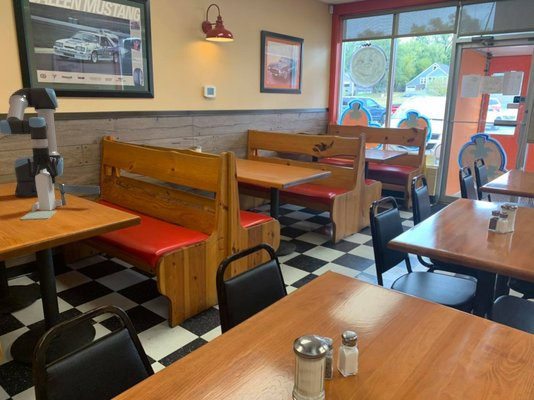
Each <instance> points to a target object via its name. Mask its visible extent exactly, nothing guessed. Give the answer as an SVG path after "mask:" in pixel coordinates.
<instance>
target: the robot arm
mask: <svg viewBox="0 0 534 400" xmlns="http://www.w3.org/2000/svg"><path fill="white" fill-rule="evenodd" d="M8 105H9V108H8V112H7V115H6V119H3V120H2V119H1V120H0V132H1V135H5V136H6V135H7V136H8V135H10V136H12V135H13V136H14V135H30V140H31V146H32V150H31V151H32V155H29V156H24V157H19V158H16V159H15V160H14V172H15V173H14V174H15V178H16V179H15V180H16V185H15V189H14V196H15V197H17V198H31V197H38V194H37V186H36V179H35V176H36V175H38V174H40V170H43V169H46V171H47V172H49V174H50V176H51V178H50V184H51V190H53V189H54V190H55V184H56V178H57V177H61V176H62V175H63V173H64V172H63V171H64V158H63V156H61V154H60V153H59V152H58V146H57V136H56V135H57V134H56V127H55V116H54V114H55V112H56V111H57V109H58V108H59V104H58V100H57V96H56V93H55V90H54V89H53V88H50V87H49V88H47V87H23V88H20V89H18V90H16V91H14V92H13V93H11V95H10V96H9V99H8ZM27 108H28V109H29V108H33V109H34V112H35V113H37V116H33V117H29V118H28V119H24V116H25V110H26V109H27Z"/></svg>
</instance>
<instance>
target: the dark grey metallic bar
mask: <svg viewBox="0 0 534 400" xmlns="http://www.w3.org/2000/svg"><path fill="white" fill-rule="evenodd" d="M58 186H59V193H60V194H61V193H65V194H66V193H70V194H71V193H72V194H91V195H93V194H95V195H96V194H97V195H100V194H101V186H100V185H79V184H78V185H75V184H65V183H59V185H58Z"/></svg>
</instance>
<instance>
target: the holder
mask: <svg viewBox="0 0 534 400" xmlns="http://www.w3.org/2000/svg"><path fill="white" fill-rule="evenodd" d="M60 198H61V199H60V200H55V203H56V207H63V206H66V205H67V201H66V193H60ZM30 207H31V212H32V211H37V210H39V202H38V201H37V202H35V203H34V204H32V205H31V206H30Z"/></svg>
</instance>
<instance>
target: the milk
mask: <svg viewBox="0 0 534 400" xmlns="http://www.w3.org/2000/svg"><path fill="white" fill-rule="evenodd" d="M50 178H51V176H50V174H49V172H47V171H46V169H43V170H40V174H38V175H36V176H35V179H36V186H37V194H38V196H37V202H39V208H38V210H39V211H53V210H55V209H56V208H57V206H56V203H55V201H56V197H55V195H56V194H55V188H54V189H53V190H51V184H50Z"/></svg>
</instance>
